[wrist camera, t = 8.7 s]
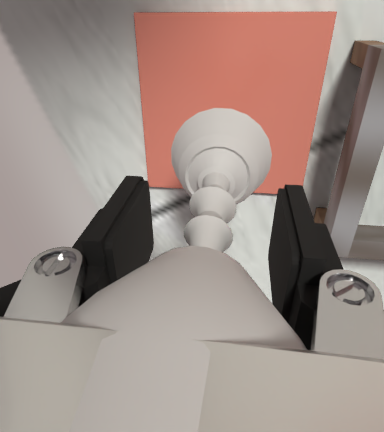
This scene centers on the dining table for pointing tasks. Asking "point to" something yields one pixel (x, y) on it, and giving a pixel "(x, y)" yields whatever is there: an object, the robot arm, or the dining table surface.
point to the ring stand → (359, 161)
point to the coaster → (233, 81)
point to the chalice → (182, 293)
